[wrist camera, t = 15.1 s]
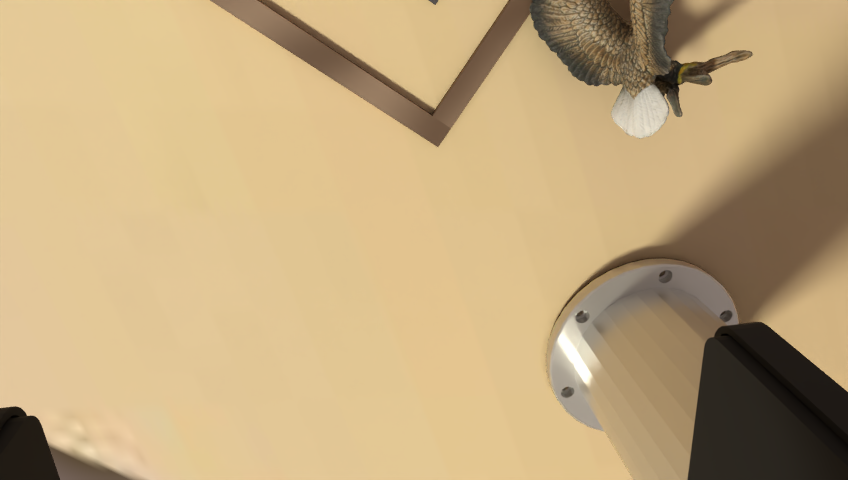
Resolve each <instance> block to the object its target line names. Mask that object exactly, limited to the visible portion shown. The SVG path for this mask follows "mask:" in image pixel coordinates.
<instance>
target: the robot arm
mask: <svg viewBox="0 0 848 480" xmlns="http://www.w3.org/2000/svg"><path fill="white" fill-rule="evenodd" d="M546 372H547V376H548V379H549V383H550V386H551V388H552V390H553V392H554V394H555V396H556V398H557V400H558V401H559V403H560V404H561V405H562V407H563V408H564V409H565V411H566V412H567V413H568V414H570V415H571V416H572V417H573V418H574V419H576V420H577V421H578V422H580V423H582V424H584V425H586V426H588V427H590V428H593V429H596V430H600V431H604V432H605V433H606V435H607V437H608V438H609V440H610V442H611V443H612V445H613V447H614V448H615V450H616V452H617V453H618V455H619V457H620V458H621V460H622V462H623V463H624V465H625V467H626V468H627V470H628V472H629V473H630V475H631V477H632V478H633V480H848V392H847V391H846V390H845V389H843V388H842V387H841V386H840V385H839V384H837V383H836V382H835V381H834V380H833V379H831V378H830V377H829V376H828V375H826V374H825V373H824V372H823V371H822V370H820V369H819V368H818V367H817V366H816V365H814V364H813V363H812V362H811V361H810V360H808V359H807V358H806V357H805V356H803V355H802V354H801V353H800V352H799V351H797V350H796V349H795V348H794V347H793V346H791V345H790V344H789V343H788V342H787V341H785V340H784V339H783V338H782V337H780V336H779V335H778V334H777V333H776V332H774V331H773V330H772V329H771V328H770V327H768V326H767V325H765V324H764V323H762V322H753V323H745V324H739V320H738V313H737V310H736V307H735V305H734V302H733V299H732V298H731V297H730V295H729V294H728V292H727V291H726V289H725V288H724V287H723V286H722V285H721V284H720V283H719V282H718V281H717V280H716V279H714V278H713V277H712V276H711V275H709V274H708V273H707V272H705V271H704V270H702V269H701V268H699V267H697V266H694V265H692V264H689V263H687V262H684V261H679V260H673V259H666V258H664V259H645V260H641V261H636V262H631V263H628V264H625V265H622V266H620V267H617V268H615V269H612V270H610V271H608V272H606V273H605V274H603V275H601V276H600V277H598V278H596V279H595V280H593V281H592V282H590V283H589V284H588V285H587V286H586V287H584V288H583V289H582V290H581V291H580V292H578V293H577V294H576V295H575V297H574V298H573V299H572V300H571V301H570V302H569V303H568V305H567V306H566V307H565V308H564V310H563V311H562V313H561V315H560V316H559V318H558V319H557V321H556V323H555V325H554V327H553V330H552V332H551V335H550V338H549V340H548V346H547V352H546ZM0 480H60V478H59V475H58V472H57V469H56V466H55V463H54V460H53V458H52V455H51V452H50V449H49V446H48V443H47V440H46V437H45V434H44V431H43V428H42V425H41V423H40V421H39V420H38V419H37V418H36V417H35V416H27V415H26V413H25V412H24V411H23V410H22V409H21V408H19V407H16V406H15V407H6V408H0Z"/></svg>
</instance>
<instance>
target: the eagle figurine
mask: <svg viewBox="0 0 848 480" xmlns="http://www.w3.org/2000/svg"><path fill="white" fill-rule="evenodd" d="M532 1H533V3H531V4H530V8H529V10H530V12H531V18H532V20H533V21H534V28H535V29H536V30H537V31H538V33H539V34H538V35H539V37H540V38H541V39H542V40H544V41H546V44H547V45H548V46H549V48H550V50H552V51H553V52H556V53H557V56H558V57H559V58H560V59H561V60H562V62H563V63H564V64H565V65H567V66H568V70H569V71H570V72H571V73H572V75H573V76H574V77H576V78H577V79H578V80H580V81H584V82H585V83H586V84H587V85H594V86H599V85H600V84H603V85H609V84H610V83H612V84H613V85H614V86H617V85H619V84H623V88H622V90H621V92H620V94H619V96H618V98H617V100H616V103H615V104H614V106H613V109H612V111H611V115H612V118H613V120H614V122H615V123H616V124H617V125H618V126H619V127H620V128H622V129H623V130H624V131H625V133H626V134H628V135H630V136H635V137H637V138H639V139H641V138H644V137H649V136H651V135H653V134H654V133H655V132H656V131H658V130H659V129H660V128H661V126H662V125H663V124H664V123H665V121H666V119H667V116H668V114H669V107H668V103H667V101H666V100H665V98H664V95H665V93H666V94H667V99H668V101H669V102H670V104H671V106H672V109H673V111H674V114H675V115H676V116H677V117H681V116H682V111H681V108H680V104H679V97H678V93H679V87H678V85H680V84H683V83H684V82H690V83H695V84H700V85H709V84H711V83H712V79H711V77H710V75H709V74H708V73H710V72H712V71H714V70H716V69H718V68H720V67H723V66H725V65H727V64H730V63H733V62H739V61H742V60H745V59H747V58H749V57H751V56H752V52H750V51H745V50H742V51H732V52H730V53H728V54H726V55H723V56H720V57H716V58H713V59H710V60H709V61H707V62H691V63H684V64H680V63H679V62H678V61H672V60H671V58H670V57H669V56H668V55H667V52H666V50H665V48H664V44H665V36H666V34H667V32H668V28H667V25H668V20H667V19H668V16H669V15H670V13H671V11H670V5H671V4H672V3H673V1H674V0H629V1H630V13H631V21H630V22H627V21H625V20H623V19H622V18H621V17H620V16H619V15H618V14H617V13H616V12H615V11H614V10H613V9H612V8H611V6H610V5H609V3H608V1H607V0H532Z"/></svg>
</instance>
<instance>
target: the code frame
mask: <svg viewBox="0 0 848 480" xmlns="http://www.w3.org/2000/svg"><path fill="white" fill-rule="evenodd" d="M210 1H212V2H214V3H215V4H217V5H218V6H220V7H221V8H223V9H224V10H226V11H227V12H229V13H231V14H232V15H234V16H235V17H237V18H238V19H240V20H241V21H243V22H245V23H246V24H248V25H249V26H251V27H252V28H254V29H255V30H257V31H259V32H260V33H262V34H263V35H265V36H266V37H268V38H269V39H271V40H273V41H274V42H276V43H277V44H279V45H280V46H282V47H283V48H285V49H287V50H288V51H290V52H291V53H293V54H294V55H296V56H297V57H299V58H301V59H302V60H304V61H305V62H307V63H308V64H310V65H311V66H313V67H315V68H316V69H318V70H319V71H321V72H322V73H324V74H325V75H327V76H329V77H330V78H332V79H333V80H335V81H336V82H338V83H339V84H341V85H343V86H344V87H346V88H347V89H349V90H350V91H352V92H353V93H355V94H356V95H358V96H360V97H361V98H363V99H364V100H366V101H367V102H369V103H370V104H372V105H374V106H375V107H377V108H378V109H380V110H381V111H383V112H384V113H386V114H388V115H389V116H391V117H392V118H394V119H395V120H397V121H398V122H400V123H402V124H403V125H405V126H406V127H408V128H409V129H411V130H412V131H414V132H416V133H417V134H419V135H420V136H422V137H423V138H425V139H426V140H428V141H430V142H431V143H433V144H434V145H436V146H437V147H438V146H439V145H440V143H441V142H442V141H443V139H444V138H445V136H446V135H447V133H448V132H449V130H450V129H451V127H452V126H453V125H454V123H455V122H456V120H457V119H458V117H459V116H460V114H461V113H462V111H463V110H464V109H465V107H466V106H467V104H468V103H469V101H470V100H471V98H472V97H473V95H474V94H475V93H476V91H477V90H478V88H479V87H480V85H481V84H482V82H483V81H484V79H485V78H486V77H487V75H488V74H489V72H490V71H491V69H492V68H493V66H494V65H495V63H496V62H497V61H498V59H499V58H500V56H501V55H502V53H503V52H504V50H505V49H506V47H507V46H508V45H509V43H510V42H511V40H512V39H513V37H514V36H515V34H516V33H517V31H518V30H519V29H520V27H521V26H522V24H523V23H524V21H525V20H526V18H527V17H528V15H529V14H530V13H531V12H530V10H529V8H530V4H531V3H533V1H532V0H509V1H508V3H507V4H506V5H505V7H504V8H503V10H502V11H501V13H500V14H499V16H498V17H497V19H496V20H495V22H494V23H493V25H492V26H491V28H490V29H489V31H488V32H487V34H486V35H485V37H484V38H483V40H482V41H481V43H480V44H479V46H478V47H477V48H476V50H475V51H474V53H473V54H472V56H471V57H470V59H469V60H468V62H467V63H466V65H465V66H464V68H463V69H462V71H461V72H460V74H459V75H458V77H457V78H456V80H455V81H454V83H453V84H452V86H451V87H450V89H449V90H448V91H447V93H446V94H445V96H444V97H443V99H442V100H441V102H440V103H439V105H438V106H437V108H436V109H435V111H434V112H433V114H432V115H431V114H429V113H428V112H426V111H425V110H423V109H422V108H420V107H419V106H417V105H416V104H414V103H413V102H411V101H410V100H408V99H407V98H405V97H404V96H402V95H401V94H399V93H398V92H396V91H395V90H393V89H392V88H390V87H389V86H387V85H386V84H384V83H383V82H381V81H380V80H378V79H377V78H375V77H373V76H372V75H370V74H369V73H367V72H366V71H364V70H363V69H361V68H360V67H358V66H357V65H355V64H354V63H352V62H351V61H349V60H348V59H346V58H345V57H343V56H342V55H340V54H339V53H337V52H336V51H334V50H333V49H331V48H330V47H328V46H327V45H325V44H324V43H322V42H321V41H319V40H317V39H316V38H314V37H313V36H311V35H310V34H308V33H307V32H305V31H304V30H302V29H301V28H299V27H298V26H296V25H295V24H293V23H292V22H290V21H289V20H287V19H286V18H284V17H283V16H281V15H280V14H278V13H277V12H275V11H274V10H272V9H271V8H269V7H268V6H266V5H265V4H263V3H262V2H260V1H258V0H210ZM429 1H430V2H432V3H433V4H434V5H436V3H437V1H438V0H429Z"/></svg>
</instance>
